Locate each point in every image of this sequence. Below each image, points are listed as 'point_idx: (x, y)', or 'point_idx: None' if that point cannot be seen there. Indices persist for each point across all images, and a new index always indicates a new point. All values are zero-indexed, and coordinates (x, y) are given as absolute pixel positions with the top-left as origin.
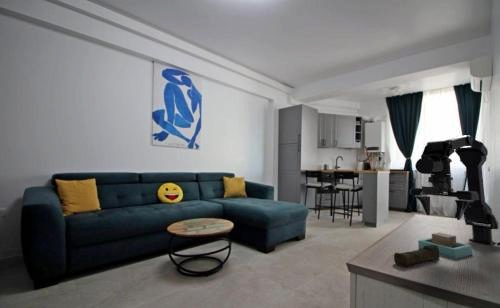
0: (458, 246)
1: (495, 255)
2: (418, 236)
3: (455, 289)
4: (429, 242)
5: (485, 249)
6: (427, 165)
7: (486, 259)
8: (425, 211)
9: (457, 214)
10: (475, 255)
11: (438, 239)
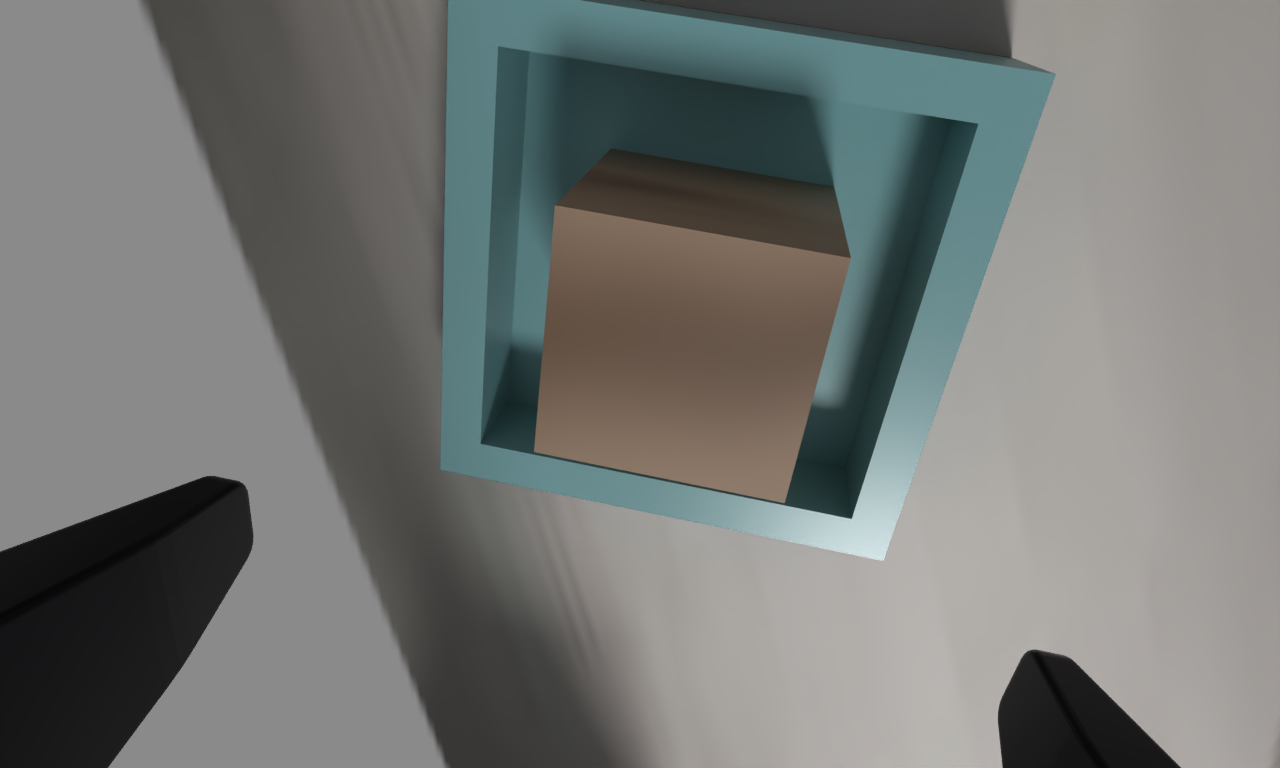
0: None
1: (363, 560)
2: None
3: None
4: (858, 98)
5: (485, 702)
6: None
7: (338, 332)
8: (1154, 746)
9: (85, 556)
10: None
11: (735, 215)
